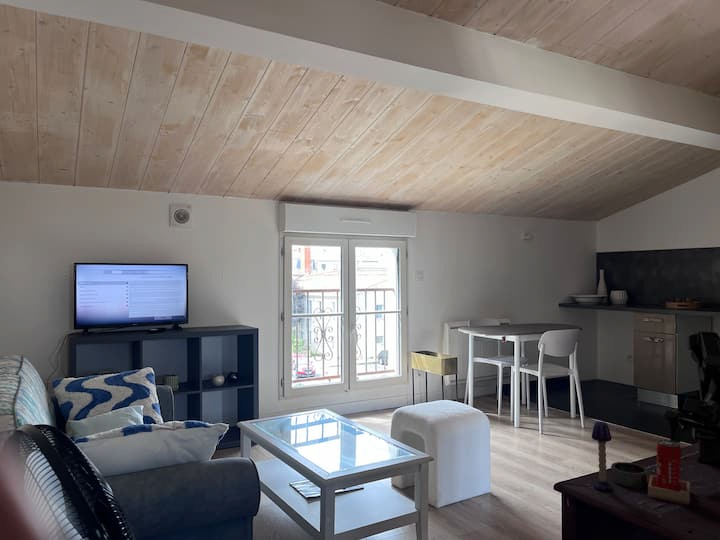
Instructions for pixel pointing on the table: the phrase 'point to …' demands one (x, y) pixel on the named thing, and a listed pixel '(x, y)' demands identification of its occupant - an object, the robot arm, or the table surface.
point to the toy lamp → (602, 454)
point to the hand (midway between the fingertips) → (688, 454)
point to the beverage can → (669, 465)
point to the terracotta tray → (669, 492)
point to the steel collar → (629, 474)
